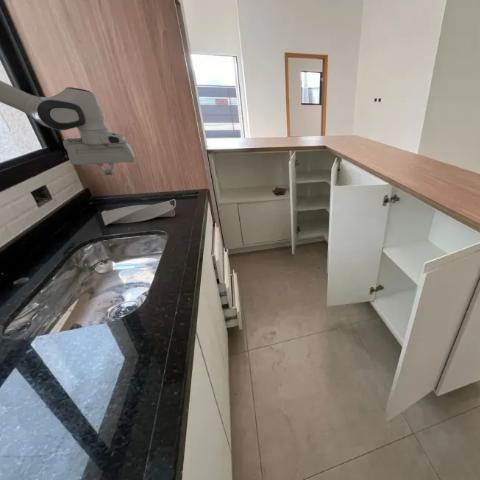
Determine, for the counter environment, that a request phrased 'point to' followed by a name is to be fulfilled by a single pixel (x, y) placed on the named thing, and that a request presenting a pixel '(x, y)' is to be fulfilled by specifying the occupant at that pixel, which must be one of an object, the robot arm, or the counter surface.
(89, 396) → the counter surface
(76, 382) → the counter surface
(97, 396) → the counter surface
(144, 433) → the counter surface
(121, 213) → the grey twisted bar
